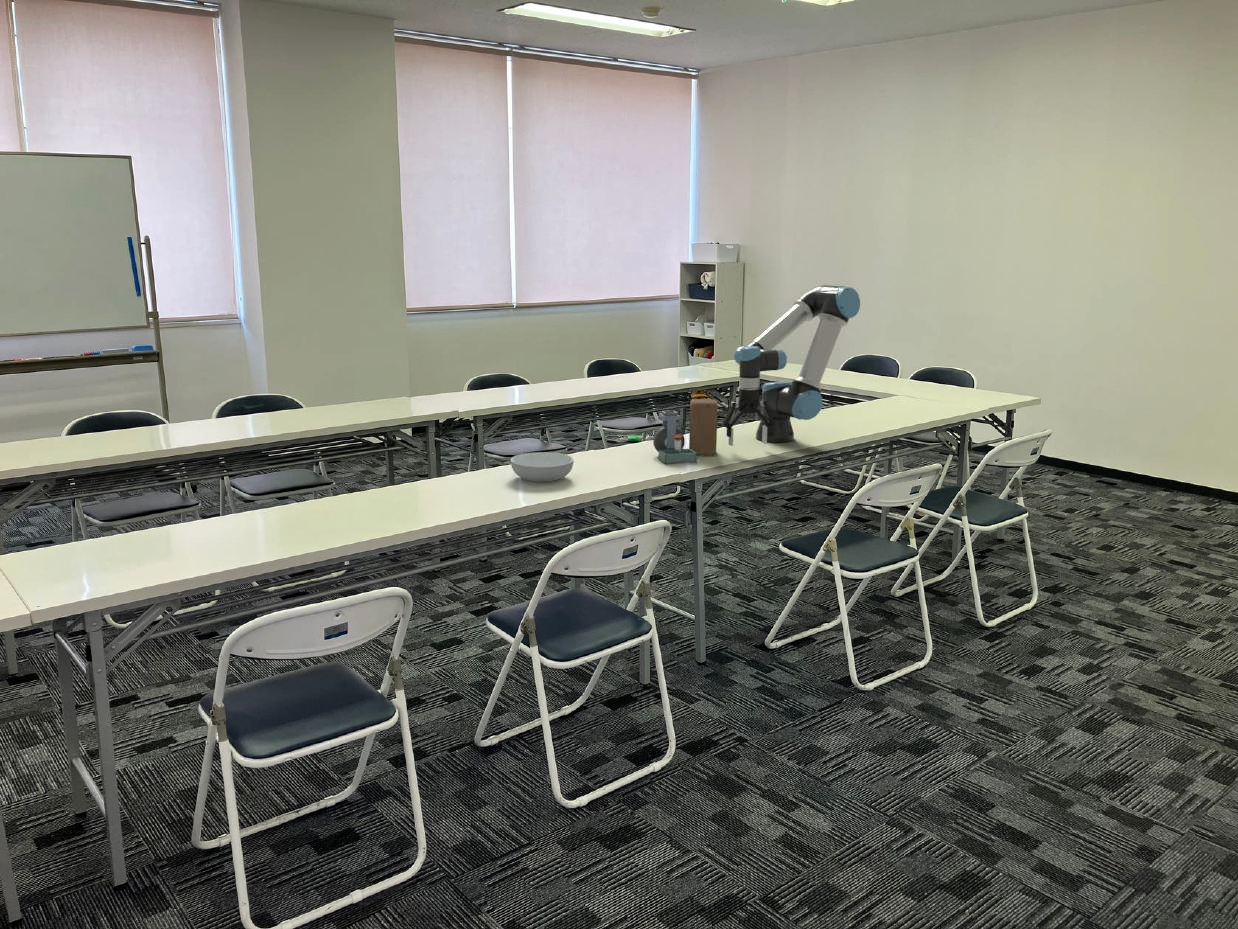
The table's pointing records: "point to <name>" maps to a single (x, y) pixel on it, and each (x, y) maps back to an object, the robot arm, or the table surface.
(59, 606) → the table surface
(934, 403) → the table surface
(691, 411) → the wooden block
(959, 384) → the table surface
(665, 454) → the tray
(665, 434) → the wheel stand
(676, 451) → the stop pin
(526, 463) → the serving bowl
